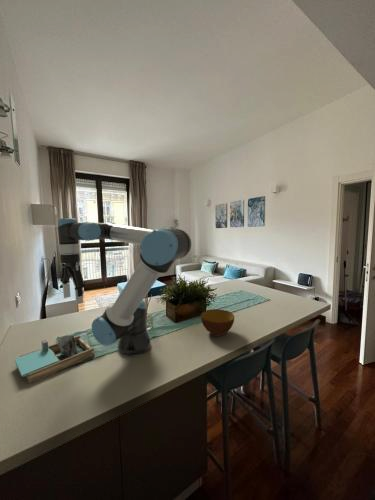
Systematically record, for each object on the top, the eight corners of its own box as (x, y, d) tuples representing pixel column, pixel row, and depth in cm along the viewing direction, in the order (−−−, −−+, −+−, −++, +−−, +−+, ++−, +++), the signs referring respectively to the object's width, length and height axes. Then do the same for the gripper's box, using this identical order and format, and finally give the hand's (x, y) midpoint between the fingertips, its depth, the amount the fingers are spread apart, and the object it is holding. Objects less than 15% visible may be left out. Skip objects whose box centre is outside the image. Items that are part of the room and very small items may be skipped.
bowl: (237, 329, 121) (237, 312, 120) (229, 345, 105) (229, 325, 104) (207, 323, 129) (207, 307, 128) (195, 337, 113) (195, 318, 112)
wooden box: (94, 355, 98) (93, 348, 97) (29, 383, 80) (28, 374, 80) (79, 341, 109) (79, 335, 109) (20, 363, 92) (19, 356, 91)
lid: (58, 362, 88) (57, 351, 88) (22, 377, 79) (20, 365, 79) (48, 348, 98) (47, 338, 98) (14, 360, 89) (13, 349, 89)
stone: (80, 331, 99) (56, 332, 98) (74, 354, 92) (48, 355, 91) (85, 339, 106) (62, 340, 104) (80, 361, 99) (56, 363, 98)
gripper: (91, 254, 91) (94, 303, 93) (67, 251, 107) (70, 293, 109) (72, 256, 86) (76, 308, 88) (50, 252, 102) (54, 297, 104)
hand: (73, 300), depth 99 cm, fingers open, 13 cm apart
